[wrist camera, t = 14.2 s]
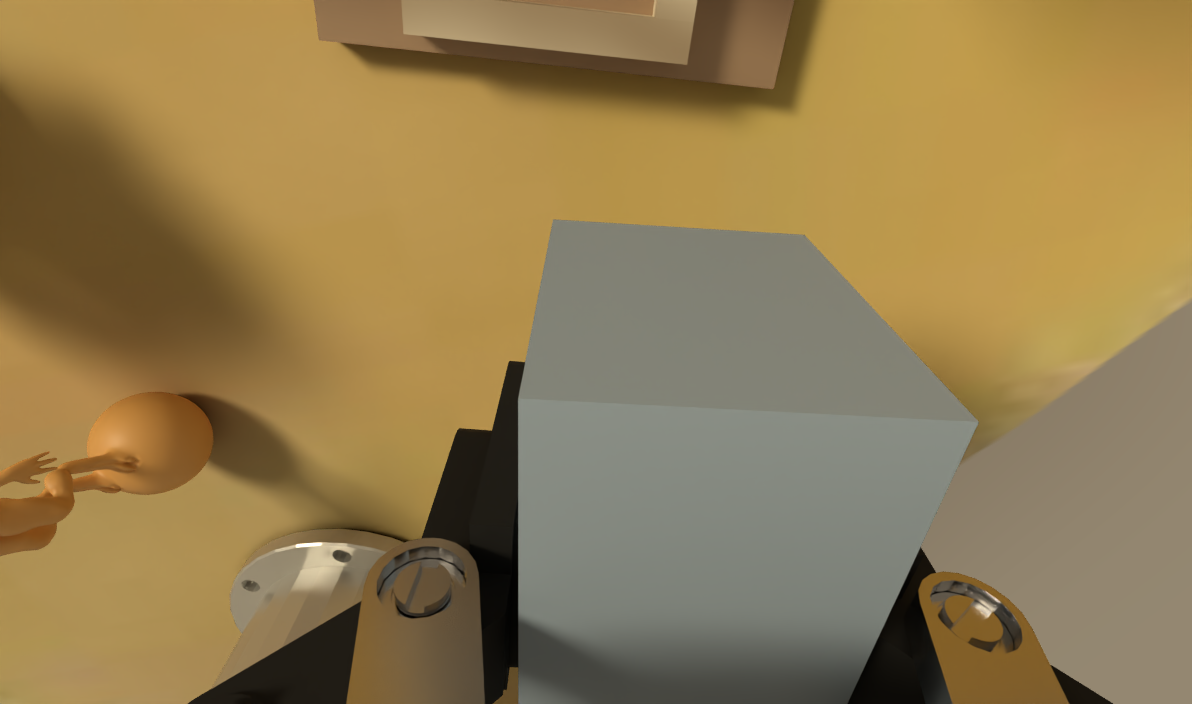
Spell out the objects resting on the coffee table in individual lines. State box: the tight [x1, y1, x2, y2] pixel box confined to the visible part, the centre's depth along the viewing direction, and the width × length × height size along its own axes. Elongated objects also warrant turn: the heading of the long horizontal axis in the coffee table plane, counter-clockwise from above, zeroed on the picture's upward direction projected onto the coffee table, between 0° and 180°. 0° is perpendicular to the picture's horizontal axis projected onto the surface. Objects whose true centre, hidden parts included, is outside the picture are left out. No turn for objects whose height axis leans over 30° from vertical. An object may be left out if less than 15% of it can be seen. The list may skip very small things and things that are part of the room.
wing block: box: [518, 220, 979, 704], centre depth 9 cm, size 8×4×5 cm, turn 176°
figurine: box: [0, 392, 213, 556], centre depth 20 cm, size 8×6×12 cm
